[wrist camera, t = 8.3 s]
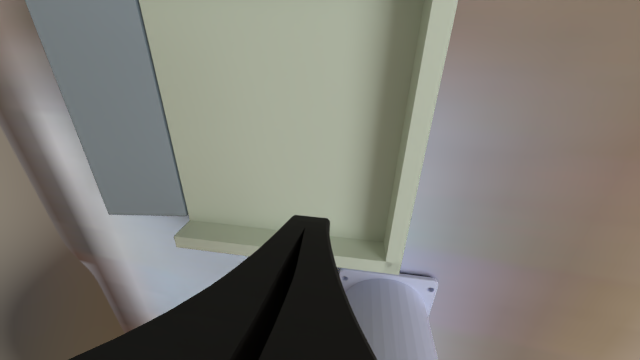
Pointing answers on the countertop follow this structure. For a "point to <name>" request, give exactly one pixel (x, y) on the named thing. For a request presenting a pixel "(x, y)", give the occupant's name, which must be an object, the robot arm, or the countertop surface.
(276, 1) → the tray
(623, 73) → the countertop surface
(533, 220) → the countertop surface
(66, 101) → the panel
